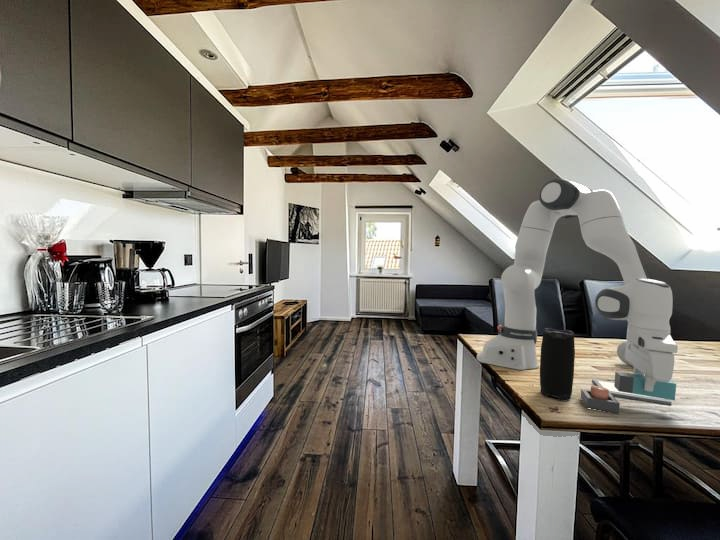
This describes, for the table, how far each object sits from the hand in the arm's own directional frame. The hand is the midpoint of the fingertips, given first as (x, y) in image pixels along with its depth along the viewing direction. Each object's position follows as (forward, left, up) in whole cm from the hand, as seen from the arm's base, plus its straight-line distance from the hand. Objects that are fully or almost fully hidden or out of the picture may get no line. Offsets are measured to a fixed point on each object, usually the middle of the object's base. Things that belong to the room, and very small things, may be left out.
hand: (643, 386), depth 89 cm
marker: (0, 0, -2) cm, 2 cm away
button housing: (-11, -5, -6) cm, 14 cm away
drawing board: (+1, +12, -6) cm, 13 cm away
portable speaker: (-21, -2, -6) cm, 22 cm away
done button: (-11, -5, -4) cm, 13 cm away
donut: (+13, +47, -6) cm, 49 cm away
